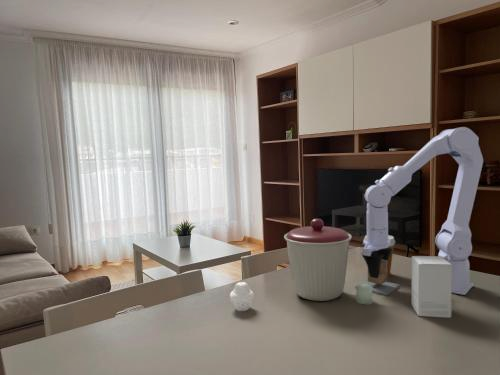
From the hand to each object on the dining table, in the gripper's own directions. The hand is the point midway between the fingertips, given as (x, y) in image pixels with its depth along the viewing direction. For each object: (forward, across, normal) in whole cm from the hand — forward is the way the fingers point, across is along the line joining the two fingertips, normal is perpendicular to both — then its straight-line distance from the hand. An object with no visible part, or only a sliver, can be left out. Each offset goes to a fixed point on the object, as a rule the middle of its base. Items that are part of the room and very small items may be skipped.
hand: (377, 275), depth 107 cm
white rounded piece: (+4, +34, -20) cm, 40 cm away
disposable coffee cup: (+4, -12, -4) cm, 13 cm away
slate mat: (+4, 0, 0) cm, 4 cm away
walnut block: (+2, 0, 0) cm, 2 cm away
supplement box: (+4, +8, +16) cm, 19 cm away
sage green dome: (+4, +12, +2) cm, 12 cm away
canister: (+4, +14, -10) cm, 18 cm away
